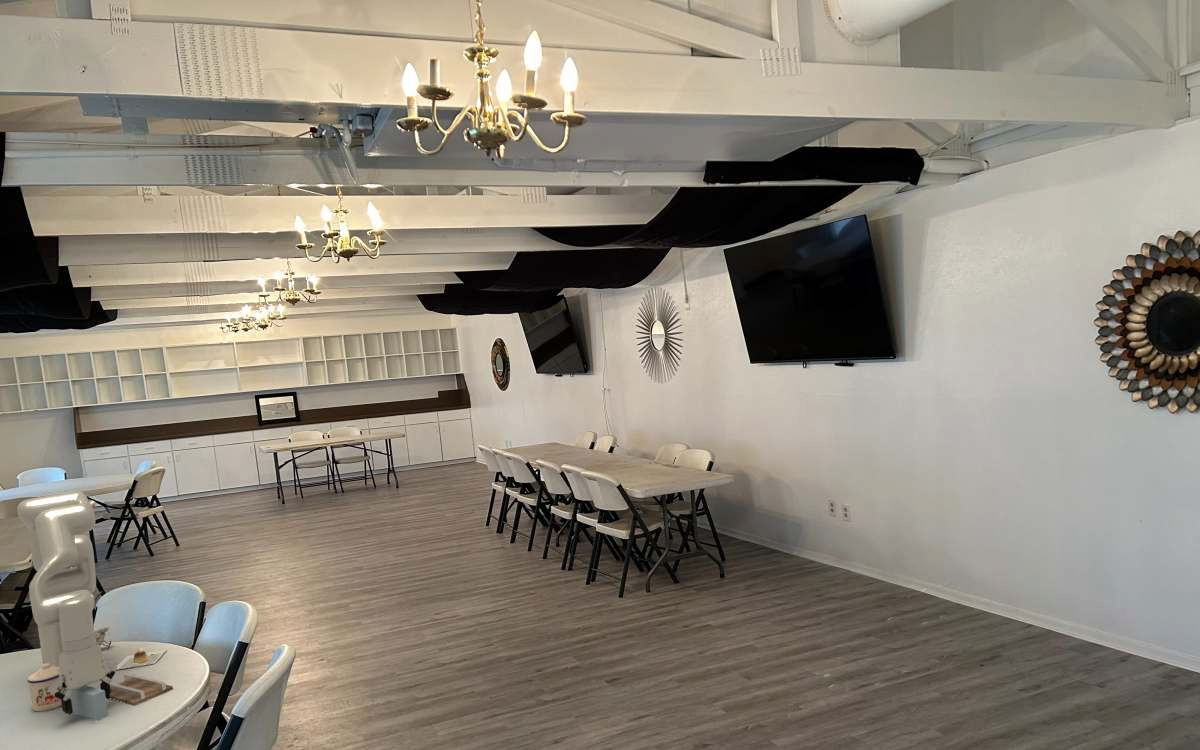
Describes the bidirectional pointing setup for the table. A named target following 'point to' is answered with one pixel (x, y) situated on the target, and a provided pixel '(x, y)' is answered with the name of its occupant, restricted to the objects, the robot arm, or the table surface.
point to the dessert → (140, 658)
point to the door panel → (89, 702)
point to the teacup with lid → (44, 688)
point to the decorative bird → (102, 637)
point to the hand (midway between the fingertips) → (87, 705)
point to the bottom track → (137, 689)
